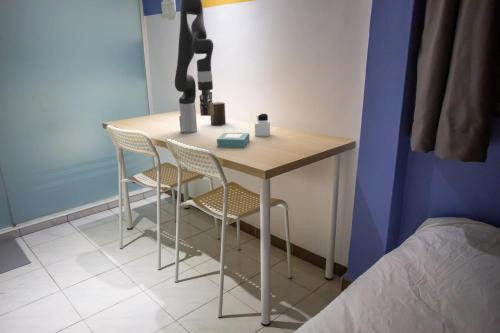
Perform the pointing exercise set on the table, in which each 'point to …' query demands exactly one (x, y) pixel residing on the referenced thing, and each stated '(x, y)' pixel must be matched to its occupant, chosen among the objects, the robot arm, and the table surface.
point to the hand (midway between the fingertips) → (207, 113)
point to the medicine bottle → (262, 125)
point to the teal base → (233, 140)
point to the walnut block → (208, 109)
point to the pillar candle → (218, 114)
